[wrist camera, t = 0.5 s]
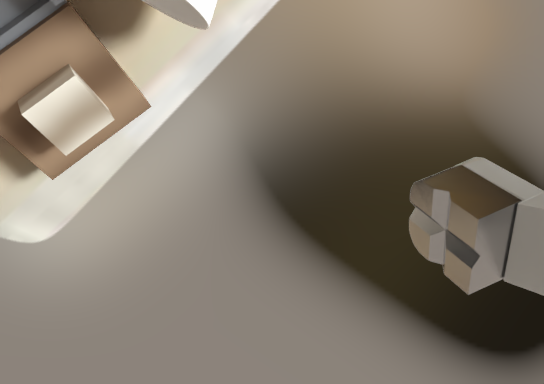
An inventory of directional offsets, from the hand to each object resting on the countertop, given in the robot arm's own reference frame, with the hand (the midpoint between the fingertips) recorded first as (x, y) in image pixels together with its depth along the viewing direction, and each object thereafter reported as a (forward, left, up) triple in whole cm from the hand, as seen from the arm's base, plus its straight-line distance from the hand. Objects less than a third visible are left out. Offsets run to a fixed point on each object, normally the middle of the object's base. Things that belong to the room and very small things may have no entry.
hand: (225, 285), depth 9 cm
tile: (+12, -6, -36) cm, 38 cm away
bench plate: (+12, -6, -39) cm, 41 cm away
